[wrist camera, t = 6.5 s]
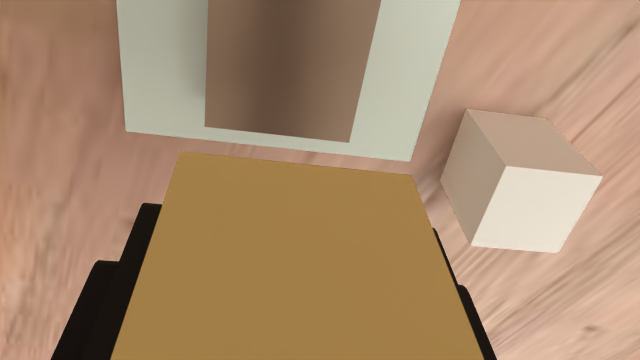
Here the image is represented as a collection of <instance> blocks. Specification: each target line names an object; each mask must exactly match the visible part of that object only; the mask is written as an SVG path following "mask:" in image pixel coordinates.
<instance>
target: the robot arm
mask: <svg viewBox="0 0 640 360" xmlns="http://www.w3.org/2000/svg"><path fill="white" fill-rule="evenodd" d="M162 205H163V204H151V203H143V204H142V205H141V208H140V210H139V213H138V215H137V218H136V220H135V223H134V225H133V228H132V230H131V233H130V235H129V238H128V240H127V243H126V245H125V248H124V251H123V253H122V256H121V258H120V261H119V262H117V261H103V260H98V261H97V262H96V263H95V264H94V266H93V268H92V270H91V272H90V274H89V276H88V278H87V281H86V283H85V285H84V287H83V289H82V292H81V294H80V296H79V298H78V300H77V303H76V305H75V307H74V309H73V312H72V314H71V316H70V318H69V320H68V323H67V325H66V327H65V329H64V331H63V334H62V336H61V338H60V340H59V342H58V345H57V347H56V349H55V351H54V353H53V356H52V358H51V360H110V359H111V356H112V353H113V350H114V347H115V344H116V341H117V338H118V335H119V332H120V329H121V327H122V324H123V321H124V318H125V315H126V312H127V309H128V306H129V303H130V300H131V297H132V294H133V291H134V288H135V285H136V282H137V279H138V276H139V273H140V270H141V267H142V264H143V261H144V258H145V255H146V252H147V249H148V247H149V244H150V241H151V238H152V235H153V232H154V229H155V226H156V223H157V220H158V217H159V214H160V211H161V208H162ZM432 229H433V231H434V234H435V236H436V239H437V241H438V244H439V247H440V249H441V252H442V254H443V257H444V259H445V262H446V264H447V267H448V269H449V272H450V274H451V277H452V279H453V282H454V284H455V287H456V290H457V292H458V295H459V297H460V300H461V302H462V305H463V307H464V310H465V312H466V315H467V317H468V320H469V322H470V325H471V327H472V330H473V333H474V335H475V338H476V340H477V343H478V345H479V348H480V350H481V353H482V355H483V358H484V360H497V358H496V356H495V354H494V351H493V349H492V346H491V344H490V342H489V339H488V337H487V335H486V332H485V330H484V327H483V325H482V323H481V320H480V318H479V316H478V313H477V311H476V308H475V306H474V304H473V301H472V299H471V297H470V294H469V292H468V291H467V289H466V288H465V287H464V286H463V285H458V283H457V281H456V278H455V276H454V273H453V271H452V268H451V266H450V263H449V261H448V258H447V256H446V253H445V251H444V248H443V246H442V243H441V241H440V239H439V236H438V234H437V231H436V230H435V229H434V228H432Z"/></svg>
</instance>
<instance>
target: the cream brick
mask: <svg viewBox="0 0 640 360" xmlns="http://www.w3.org/2000/svg"><path fill="white" fill-rule="evenodd" d="M603 177H604V176H603V175H602V174H601V173H600V172H599V171H598V170H597V169H596V168H595V167H594V166H593V165H592V164H591V163H590V162H589V161H588V160H587V159H586V158H585V157H584V156H583V155H582V154H581V153H580V152H579V151H578V150H577V149H576V148H575V147H574V146H573V145H572V143H571V142H570V141H569V140H568V139H567V138H566V137H565V136H564V135H563V134H562V133H561V132H560V131H559V130H558V129H557V128H556V127H555V126H554V125H553V124H552V123H551V122H550V121H549V120H548V119H546V118H538V117H530V116H522V115H514V114H506V113H498V112H490V111H482V110H474V109H466V110H465V113H464V116H463V119H462V121H461V124H460V127H459V129H458V132H457V135H456V138H455V140H454V143H453V146H452V149H451V151H450V154H449V157H448V159H447V162H446V165H445V168H444V170H443V173H442V176H441V178H440V182H441V184H442V187H443V189H444V191H445V193H446V195H447V197H448V199H449V202H450V204H451V206H452V208H453V210H454V212H455V214H456V217H457V219H458V221H459V223H460V225H461V227H462V229H463V232H464V234H465V236H466V238H467V240H468V242H469V244H470V246H479V247H491V248H503V249H515V250H527V251H539V252H551V253H558V252H559V250H560V249H561V247H562V245H563V244H564V242H565V240H566V239H567V237H568V235H569V234H570V232H571V230H572V229H573V227H574V225H575V224H576V222H577V220H578V219H579V217H580V215H581V214H582V212H583V210H584V209H585V207H586V205H587V204H588V202H589V200H590V199H591V197H592V195H593V194H594V192H595V190H596V189H597V187H598V185H599V183H600V182H601V180H602V178H603Z"/></svg>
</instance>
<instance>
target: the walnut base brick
mask: <svg viewBox="0 0 640 360" xmlns="http://www.w3.org/2000/svg"><path fill="white" fill-rule="evenodd" d="M380 4H381V0H208V25H207V59H206V92H205V125H204V127H211V128H220V129H229V130H238V131H247V132H256V133H265V134H274V135H283V136H292V137H301V138H310V139H319V140H328V141H337V142H346V143H349V141H350V137H351V132H352V128H353V123H354V119H355V114H356V110H357V106H358V101H359V97H360V92H361V88H362V84H363V79H364V75H365V70H366V66H367V62H368V57H369V53H370V48H371V44H372V39H373V35H374V31H375V26H376V22H377V17H378V13H379V9H380Z"/></svg>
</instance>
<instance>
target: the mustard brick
mask: <svg viewBox="0 0 640 360" xmlns="http://www.w3.org/2000/svg"><path fill="white" fill-rule="evenodd" d="M110 360H484V358H483V355H482V353H481V350H480V348H479V345H478V343H477V340H476V338H475V335H474V333H473V330H472V327H471V325H470V322H469V320H468V317H467V315H466V312H465V310H464V307H463V305H462V302H461V300H460V297H459V295H458V292H457V290H456V287H455V284H454V282H453V279H452V277H451V274H450V272H449V269H448V267H447V264H446V262H445V259H444V257H443V254H442V252H441V249H440V247H439V244H438V241H437V239H436V236H435V234H434V231H433V229H432V226H431V224H430V221H429V219H428V216H427V214H426V211H425V209H424V206H423V204H422V201H421V198H420V196H419V193H418V191H417V188H416V186H415V183H414V181H413V178H412V176H411V175H406V174H396V173H386V172H377V171H367V170H357V169H347V168H337V167H328V166H318V165H308V164H298V163H289V162H279V161H269V160H259V159H250V158H240V157H230V156H220V155H210V154H201V153H191V152H180V155H179V158H178V161H177V164H176V167H175V169H174V172H173V175H172V178H171V181H170V184H169V187H168V190H167V193H166V196H165V199H164V202H163V205H162V208H161V211H160V214H159V217H158V220H157V223H156V226H155V229H154V232H153V235H152V238H151V241H150V244H149V247H148V249H147V252H146V255H145V258H144V261H143V264H142V267H141V270H140V273H139V276H138V279H137V282H136V285H135V288H134V291H133V294H132V297H131V300H130V303H129V306H128V309H127V312H126V315H125V318H124V321H123V324H122V327H121V329H120V332H119V335H118V338H117V341H116V344H115V347H114V350H113V353H112V356H111V359H110Z"/></svg>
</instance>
